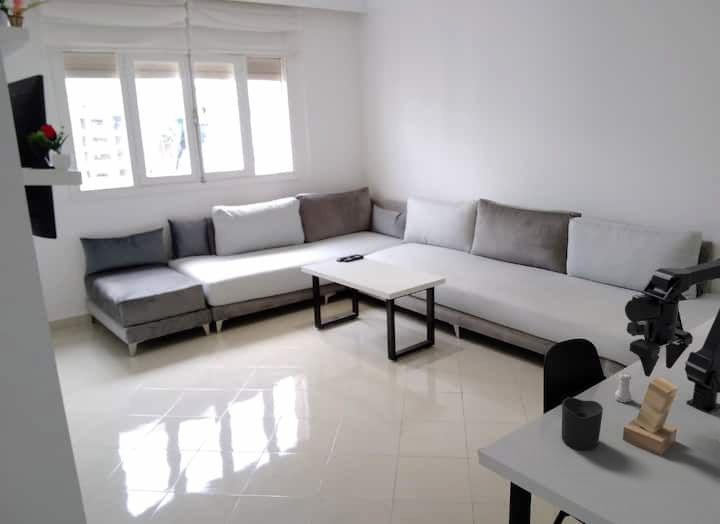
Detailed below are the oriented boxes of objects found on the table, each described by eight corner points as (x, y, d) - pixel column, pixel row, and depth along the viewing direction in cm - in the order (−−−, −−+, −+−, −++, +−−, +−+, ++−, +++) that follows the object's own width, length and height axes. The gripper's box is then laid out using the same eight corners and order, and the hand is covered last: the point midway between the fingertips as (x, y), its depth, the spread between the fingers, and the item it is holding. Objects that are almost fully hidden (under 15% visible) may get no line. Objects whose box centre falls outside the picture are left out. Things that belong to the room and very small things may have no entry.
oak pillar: (646, 417, 140) (661, 377, 135) (662, 428, 136) (678, 387, 131) (635, 422, 138) (650, 381, 133) (651, 433, 134) (667, 392, 129)
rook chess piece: (633, 403, 156) (635, 378, 154) (616, 402, 156) (618, 377, 154) (628, 396, 160) (631, 371, 158) (612, 395, 161) (614, 370, 159)
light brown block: (638, 428, 144) (640, 414, 143) (675, 442, 137) (676, 428, 136) (622, 441, 138) (623, 427, 137) (659, 456, 132) (661, 441, 131)
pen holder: (580, 456, 132) (583, 419, 130) (551, 437, 140) (554, 402, 138) (608, 445, 136) (611, 409, 134) (578, 427, 144) (581, 393, 142)
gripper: (657, 302, 153) (651, 354, 157) (613, 315, 145) (608, 369, 148) (697, 313, 144) (690, 368, 148) (653, 327, 135) (646, 385, 139)
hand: (658, 372), depth 146 cm, fingers open, 9 cm apart
